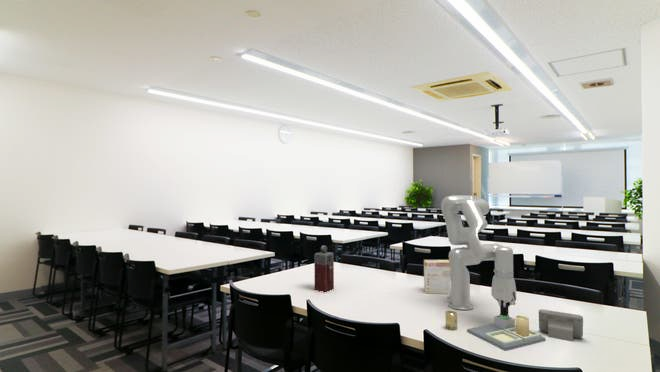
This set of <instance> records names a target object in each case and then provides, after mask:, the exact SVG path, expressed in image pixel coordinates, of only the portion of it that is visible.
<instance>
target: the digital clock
mask: <svg viewBox="0 0 660 372" xmlns="http://www.w3.org/2000/svg"><path fill="white" fill-rule="evenodd" d="M583 327H584V317H583V315H581V314H575V313H569V312H564V311H557V310H550V309H543V308H542V309H538V328H539V331H541V332H545V333H548V335H547V336H548V337H549V338H554V339H559V340H564V341H568V342H574V338H577V339H581V338H583V337H584V336H583V335H584V328H583Z"/></svg>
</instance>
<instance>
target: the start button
mask: <svg viewBox="0 0 660 372" xmlns="http://www.w3.org/2000/svg"><path fill="white" fill-rule="evenodd" d="M498 316H499V318H501V319H503V320H508V319H509V317H510V315H509V314H508V315H506V316H503V315H500V313H499V315H498Z"/></svg>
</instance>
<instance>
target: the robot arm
mask: <svg viewBox="0 0 660 372" xmlns="http://www.w3.org/2000/svg"><path fill="white" fill-rule="evenodd" d="M440 209H441V213H442V215H443V218H444V221H445V225H446V226H445V227H446V232H447V236H448V241H449V244H450V245H452V246H463V247H454V248H452V249H450V251H449V253H448V260H449V261H450V269H451V294H448V296H447V297H446V299H448V300H449V302H448V303H447V306H448V307H449V308H451V309H453V310H454V309H455V310H458V311H471V310H473V309H474V305H473V304H472V303H471V289H470V288H471V283H470V281H471V280H470V279H471V278H470V277H471V276H470V272H469V269H468V268H467V266H473V265H474V266H475V265H479V264H480V263H482V262H484V261H494V269H493V272H494V275H493V277H492V282H491V292H490V293H491V297H493V299H494V300H495V301H497V303H498V306H499V311H500V312H499V314H500V315H503V316H506V315H509V307H511V306H515V305H516V301H517V286H516V281H515V278H514V250H513V248H512V247H509V246H504V245H501V244H499V243H483V244H482V242H481V241H480V239H479V233H480V232H482V231H484V230H485V229H486V228H487V227H488V221H487V220H486V218H485V216H486V215H487V214H489V212H490V204H489V203H488V201H487V200H486V199H484V198H480V197H477V196H474V195H470V194H467V195H465V194H464V195H461V194H460V195H456V194H455V195H448V196H445V197H444V198H443V199H442V200H441V205H440ZM459 211H460V212H461V213H462V215H463V216H464V218H465V221H466V223H467V224H468V227H464V226H463V221H462V218H461V217H460V215H459V214H458V213H457V212H459ZM465 246H466V247H465Z"/></svg>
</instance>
